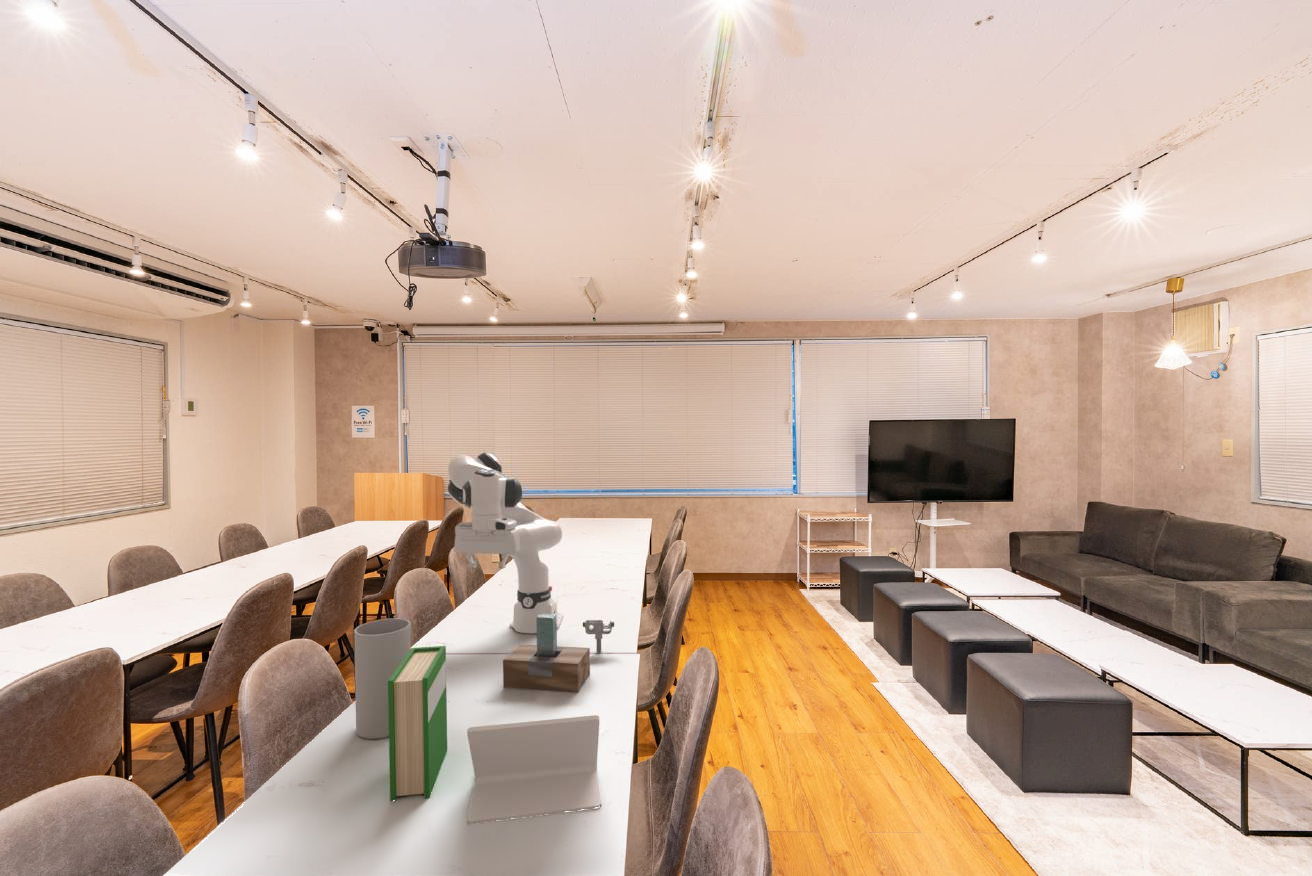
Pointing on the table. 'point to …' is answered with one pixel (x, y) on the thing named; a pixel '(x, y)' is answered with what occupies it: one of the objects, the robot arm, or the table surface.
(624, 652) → the table surface
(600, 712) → the table surface
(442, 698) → the hardback book
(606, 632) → the mechanical component
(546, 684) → the brown boxy piece
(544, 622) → the tall rectangular metal block
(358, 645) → the cylinder vase
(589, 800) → the tablet stand
